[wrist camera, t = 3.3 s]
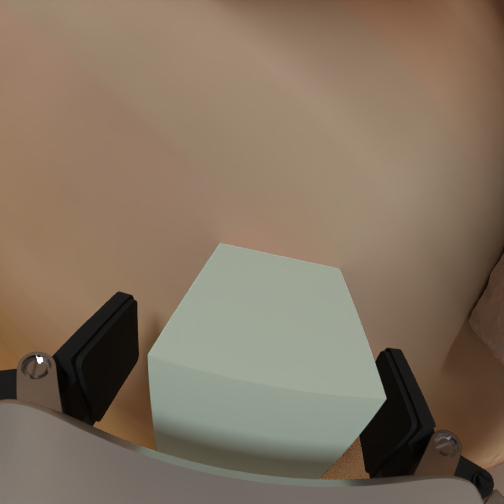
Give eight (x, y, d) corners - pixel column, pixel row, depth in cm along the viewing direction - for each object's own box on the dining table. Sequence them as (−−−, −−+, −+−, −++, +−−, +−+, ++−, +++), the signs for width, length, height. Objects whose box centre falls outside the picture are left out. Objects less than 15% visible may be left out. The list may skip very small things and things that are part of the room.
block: (339, 268, 12) (386, 398, 5) (306, 359, 13) (310, 487, 7) (219, 242, 12) (147, 354, 5) (206, 338, 13) (158, 459, 7)
